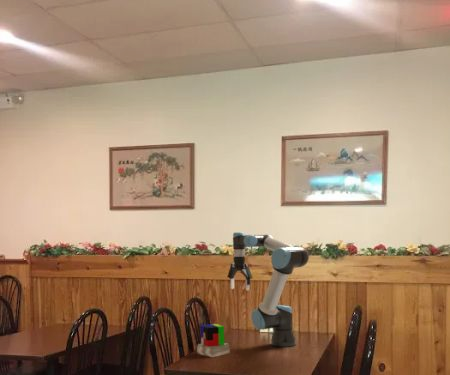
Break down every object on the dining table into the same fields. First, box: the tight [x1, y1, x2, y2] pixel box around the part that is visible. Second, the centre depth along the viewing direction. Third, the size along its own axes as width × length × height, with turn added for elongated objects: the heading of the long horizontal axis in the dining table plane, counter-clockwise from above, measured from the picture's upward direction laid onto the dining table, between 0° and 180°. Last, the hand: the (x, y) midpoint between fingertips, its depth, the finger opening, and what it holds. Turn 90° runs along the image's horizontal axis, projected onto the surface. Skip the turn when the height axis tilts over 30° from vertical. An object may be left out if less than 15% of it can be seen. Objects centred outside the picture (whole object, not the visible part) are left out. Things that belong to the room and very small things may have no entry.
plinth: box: [196, 342, 231, 358], centre depth 266 cm, size 13×13×5 cm
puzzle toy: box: [200, 323, 225, 347], centre depth 266 cm, size 10×10×10 cm
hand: (240, 289), depth 303 cm, fingers open, 13 cm apart
